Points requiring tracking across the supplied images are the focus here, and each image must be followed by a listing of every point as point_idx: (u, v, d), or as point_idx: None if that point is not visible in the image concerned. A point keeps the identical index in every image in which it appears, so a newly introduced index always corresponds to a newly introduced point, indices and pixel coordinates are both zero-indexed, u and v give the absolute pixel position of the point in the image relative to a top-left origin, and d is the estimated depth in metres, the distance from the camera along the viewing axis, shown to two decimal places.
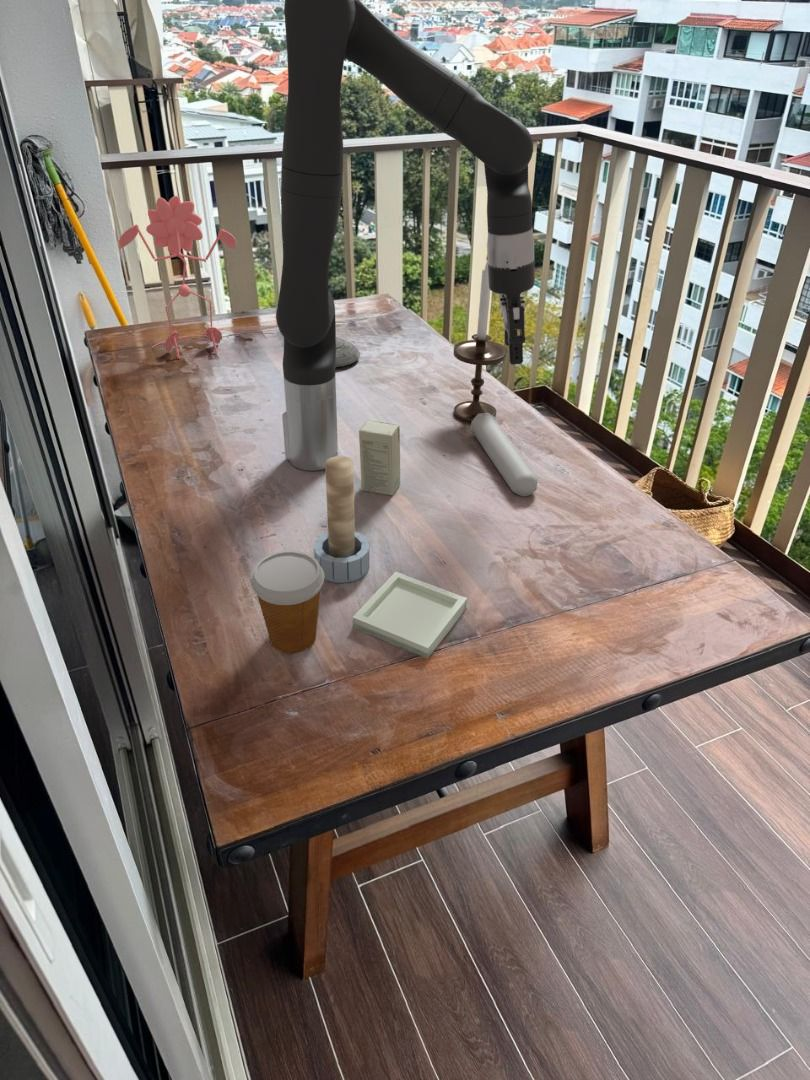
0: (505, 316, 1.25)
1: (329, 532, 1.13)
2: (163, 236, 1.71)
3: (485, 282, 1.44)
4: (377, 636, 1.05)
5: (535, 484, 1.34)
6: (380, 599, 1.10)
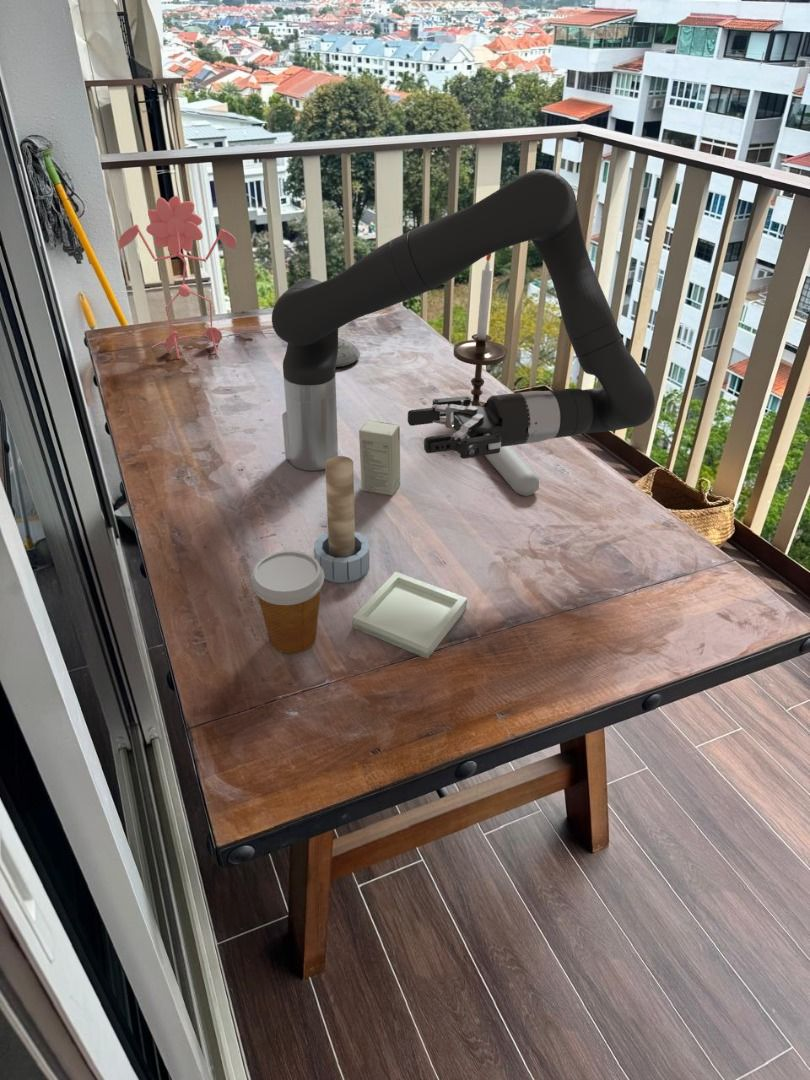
0: (475, 425, 1.06)
1: (329, 532, 1.13)
2: (163, 236, 1.71)
3: (485, 282, 1.44)
4: (377, 636, 1.05)
5: (537, 483, 1.34)
6: (380, 599, 1.10)
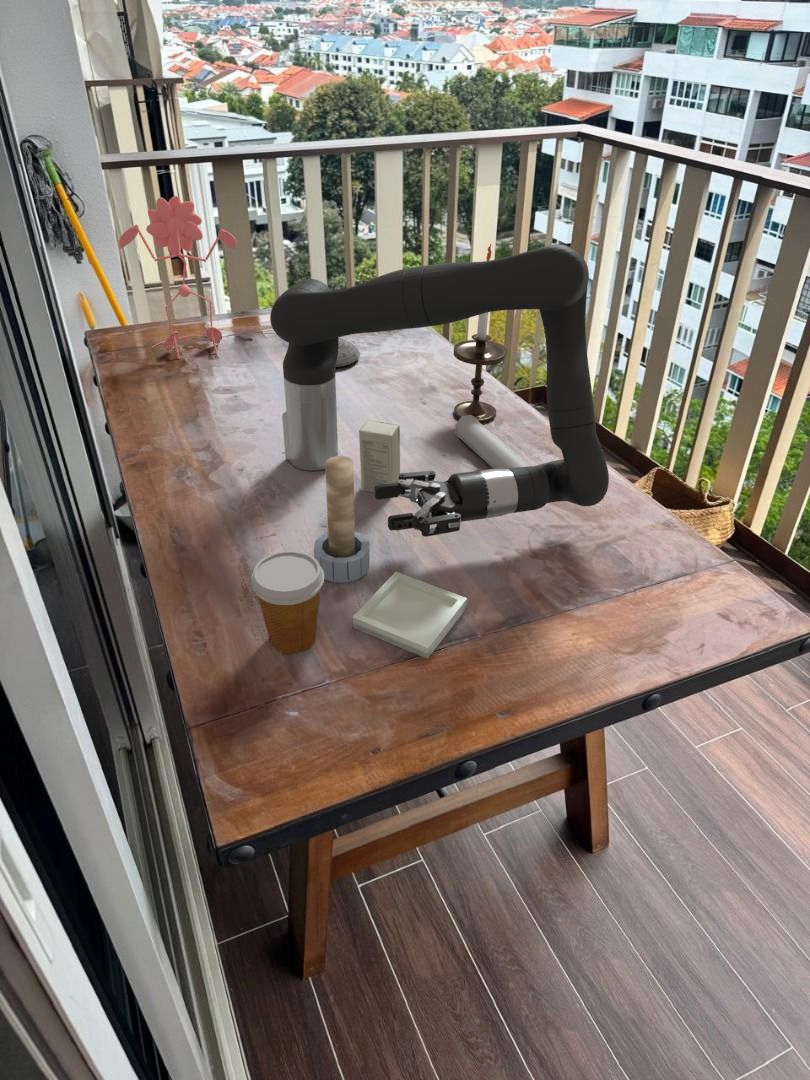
0: (437, 503, 1.12)
1: (329, 532, 1.13)
2: (163, 236, 1.71)
3: None
4: (377, 636, 1.05)
5: None
6: (380, 599, 1.10)
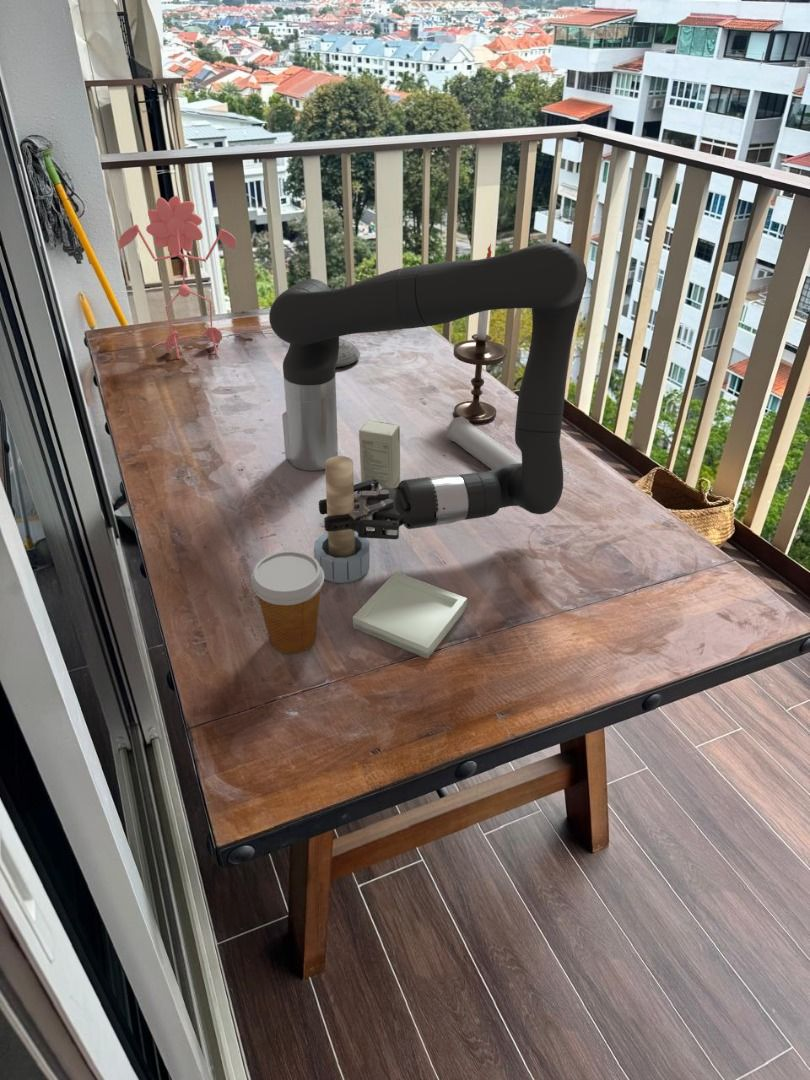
0: (379, 509, 1.10)
1: (329, 532, 1.13)
2: (163, 236, 1.71)
3: None
4: (377, 636, 1.05)
5: None
6: (380, 599, 1.10)
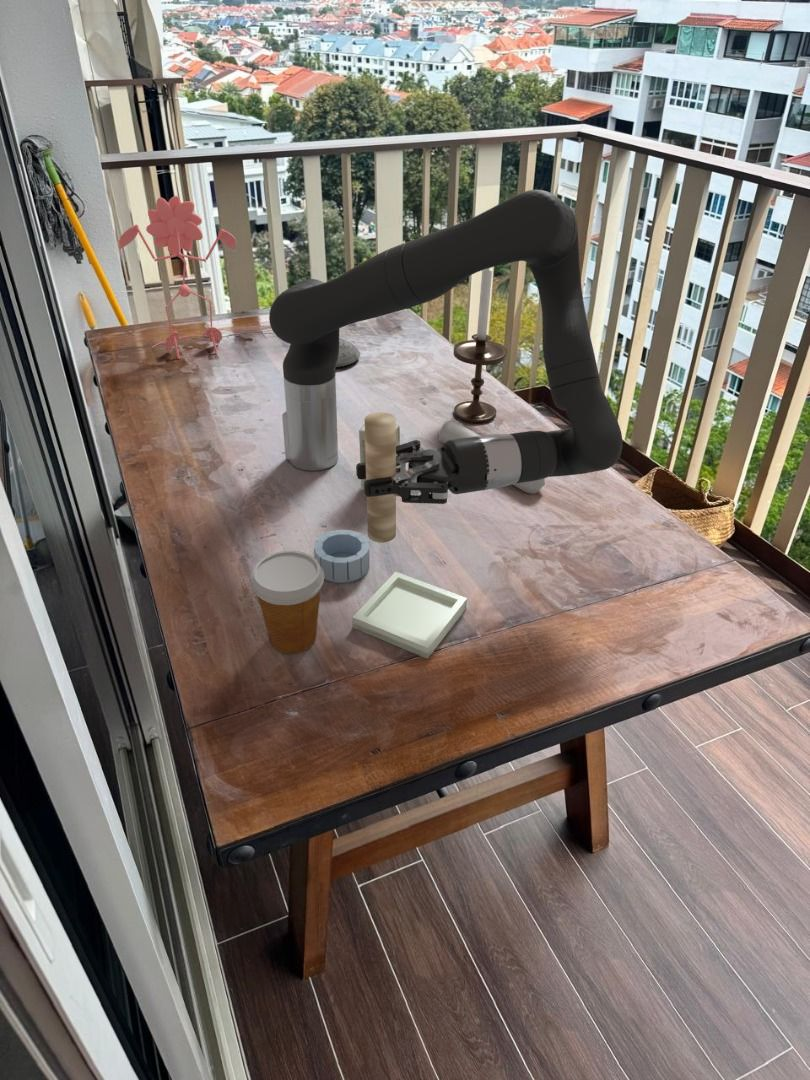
0: (425, 471, 1.00)
1: (368, 498, 1.02)
2: (163, 236, 1.71)
3: (485, 282, 1.44)
4: (377, 636, 1.05)
5: (543, 479, 1.36)
6: (380, 599, 1.10)
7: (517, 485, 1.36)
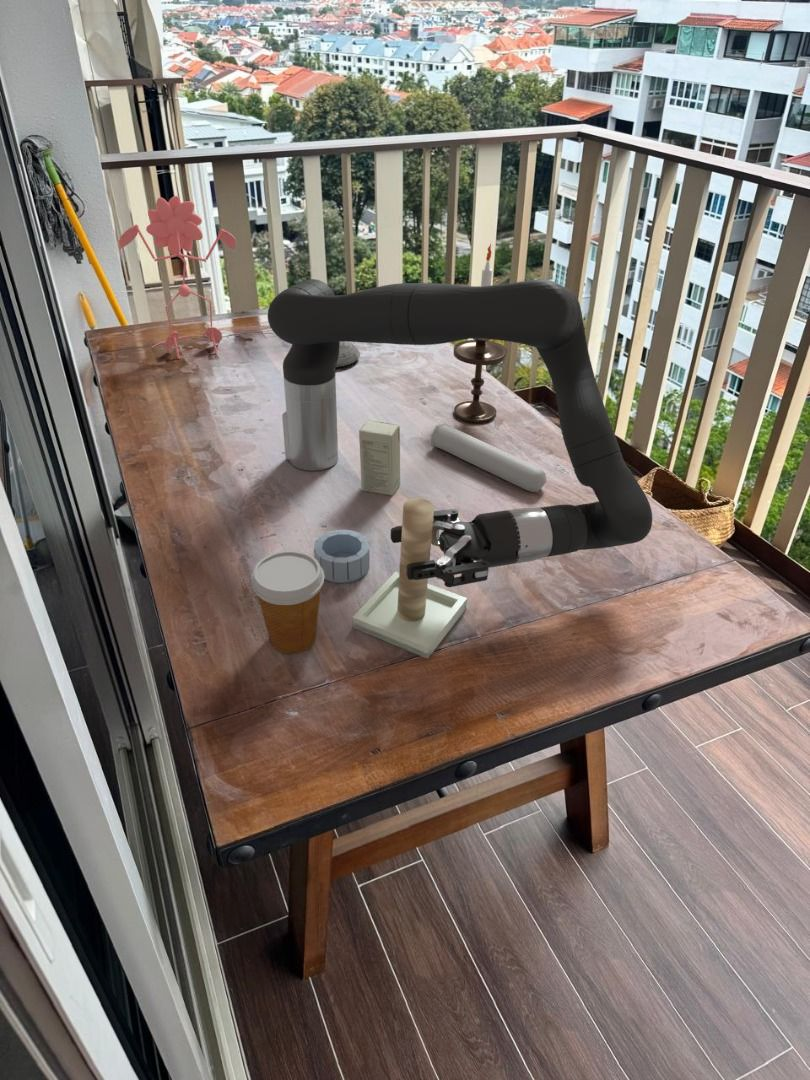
0: (461, 549, 1.00)
1: (401, 579, 1.03)
2: (163, 236, 1.71)
3: (485, 282, 1.44)
4: (377, 636, 1.05)
5: (545, 477, 1.36)
6: (380, 599, 1.10)
7: (520, 485, 1.36)
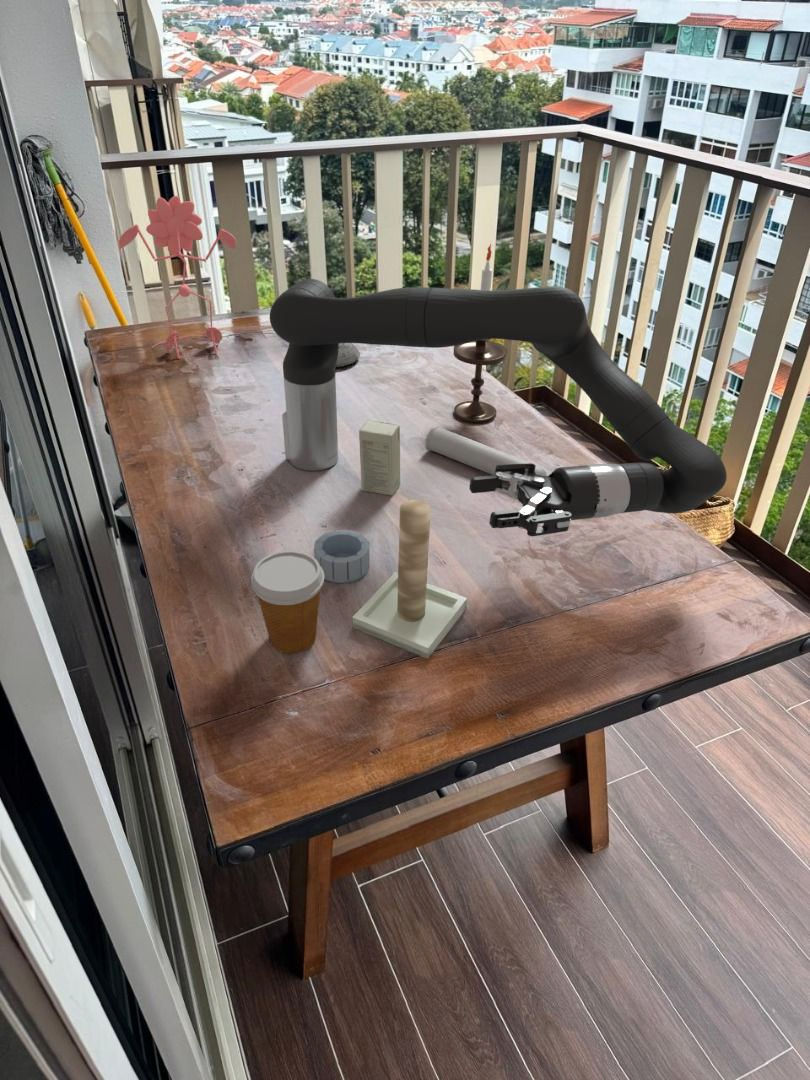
0: (543, 500, 1.01)
1: (400, 581, 1.03)
2: (163, 236, 1.71)
3: (485, 282, 1.44)
4: (377, 636, 1.05)
5: (546, 475, 1.37)
6: (380, 599, 1.10)
7: None
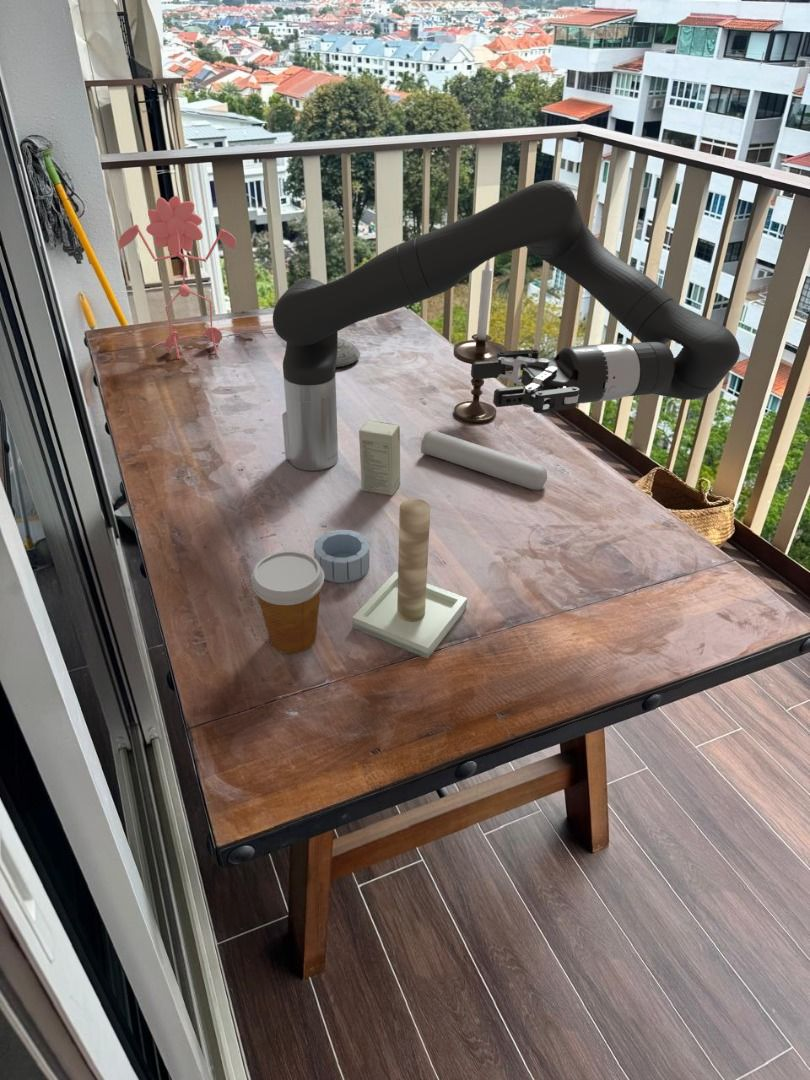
0: (549, 377, 0.96)
1: (400, 580, 1.03)
2: (163, 236, 1.71)
3: (485, 282, 1.44)
4: (377, 636, 1.05)
5: None
6: (380, 599, 1.10)
7: (523, 484, 1.36)
